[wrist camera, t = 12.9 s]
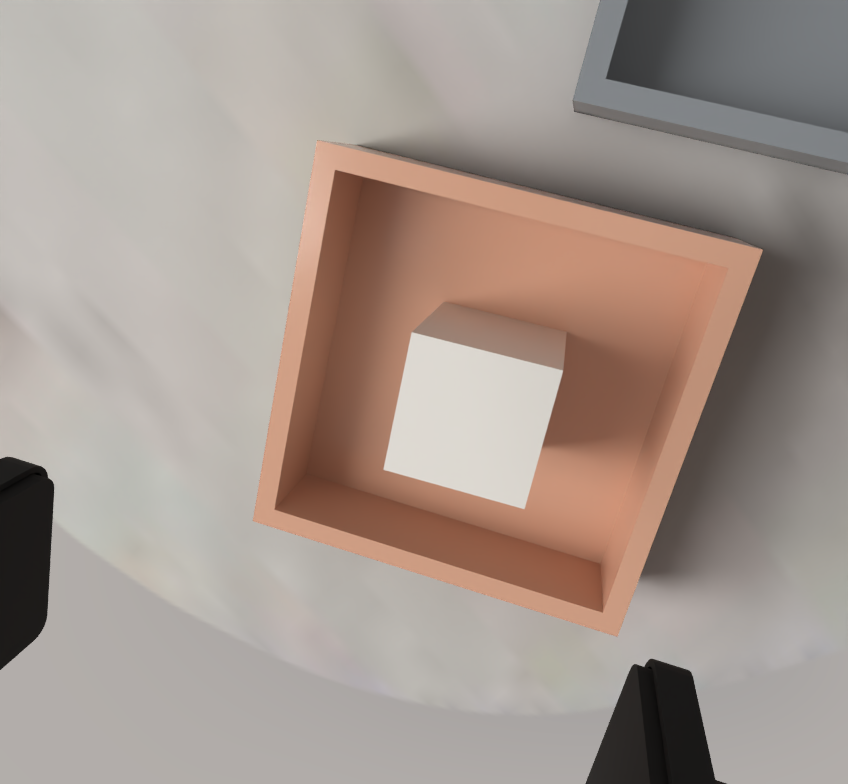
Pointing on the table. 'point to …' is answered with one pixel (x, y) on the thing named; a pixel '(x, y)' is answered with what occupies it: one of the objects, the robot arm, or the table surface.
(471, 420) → the stone block
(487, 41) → the table surface
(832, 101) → the bin
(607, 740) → the robot arm
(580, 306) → the bin
